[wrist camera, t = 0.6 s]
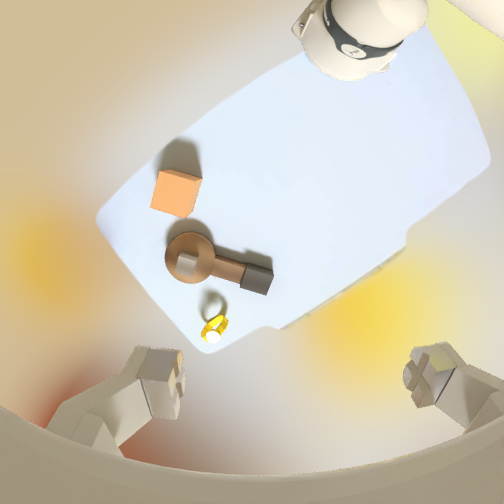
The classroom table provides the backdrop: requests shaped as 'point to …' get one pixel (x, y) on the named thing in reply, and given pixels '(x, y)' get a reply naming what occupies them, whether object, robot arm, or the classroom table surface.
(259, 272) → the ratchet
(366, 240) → the classroom table surface
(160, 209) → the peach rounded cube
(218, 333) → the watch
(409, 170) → the classroom table surface
